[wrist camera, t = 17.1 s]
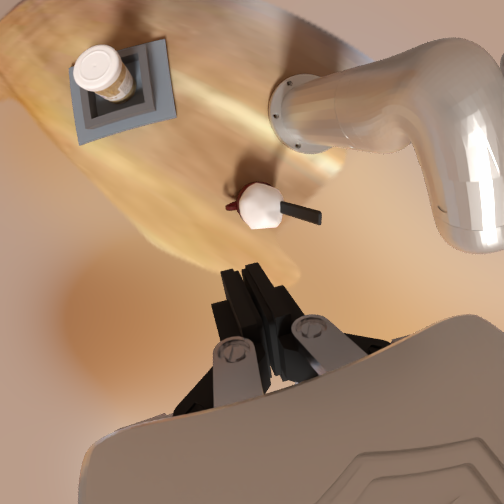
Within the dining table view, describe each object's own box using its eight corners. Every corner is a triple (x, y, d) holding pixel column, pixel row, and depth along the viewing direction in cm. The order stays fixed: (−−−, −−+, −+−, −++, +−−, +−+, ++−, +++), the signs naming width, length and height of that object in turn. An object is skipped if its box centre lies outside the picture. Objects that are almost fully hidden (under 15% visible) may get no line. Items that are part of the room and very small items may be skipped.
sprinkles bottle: (100, 100, 29) (64, 84, 17) (113, 70, 28) (84, 40, 16) (129, 108, 31) (106, 93, 19) (142, 77, 29) (127, 47, 17)
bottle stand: (165, 41, 29) (164, 30, 25) (176, 117, 34) (176, 115, 30) (71, 69, 26) (59, 62, 22) (81, 145, 31) (70, 146, 27)
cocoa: (220, 211, 41) (231, 242, 30) (233, 170, 39) (249, 186, 28) (278, 226, 44) (307, 259, 33) (292, 188, 42) (327, 211, 31)
